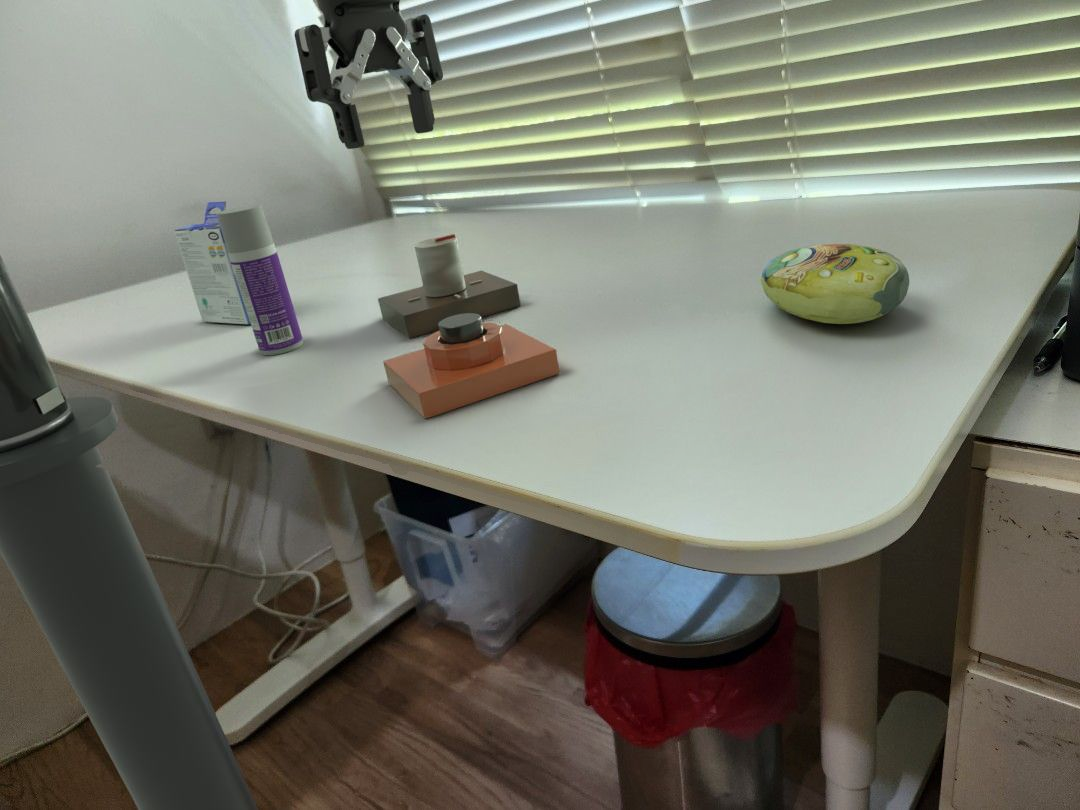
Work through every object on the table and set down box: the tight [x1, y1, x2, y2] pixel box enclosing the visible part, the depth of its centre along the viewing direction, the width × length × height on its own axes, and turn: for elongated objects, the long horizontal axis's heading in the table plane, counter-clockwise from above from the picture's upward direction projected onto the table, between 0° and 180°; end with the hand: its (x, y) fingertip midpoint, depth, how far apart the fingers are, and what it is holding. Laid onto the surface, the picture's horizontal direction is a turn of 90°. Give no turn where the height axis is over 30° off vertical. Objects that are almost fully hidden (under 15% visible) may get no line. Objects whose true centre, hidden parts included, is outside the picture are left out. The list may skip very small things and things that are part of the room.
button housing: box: [382, 321, 561, 420], centre depth 63 cm, size 12×10×4 cm
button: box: [438, 313, 484, 345], centre depth 62 cm, size 4×4×2 cm
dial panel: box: [377, 270, 521, 339], centre depth 83 cm, size 13×10×3 cm
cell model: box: [760, 243, 910, 325], centre depth 65 cm, size 11×8×15 cm
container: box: [216, 203, 304, 356], centre depth 79 cm, size 5×5×15 cm
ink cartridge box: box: [173, 200, 251, 325], centre depth 94 cm, size 10×6×14 cm, turn 58°
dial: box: [414, 233, 466, 297], centre depth 82 cm, size 5×5×6 cm
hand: (391, 139), depth 73 cm, fingers open, 8 cm apart
